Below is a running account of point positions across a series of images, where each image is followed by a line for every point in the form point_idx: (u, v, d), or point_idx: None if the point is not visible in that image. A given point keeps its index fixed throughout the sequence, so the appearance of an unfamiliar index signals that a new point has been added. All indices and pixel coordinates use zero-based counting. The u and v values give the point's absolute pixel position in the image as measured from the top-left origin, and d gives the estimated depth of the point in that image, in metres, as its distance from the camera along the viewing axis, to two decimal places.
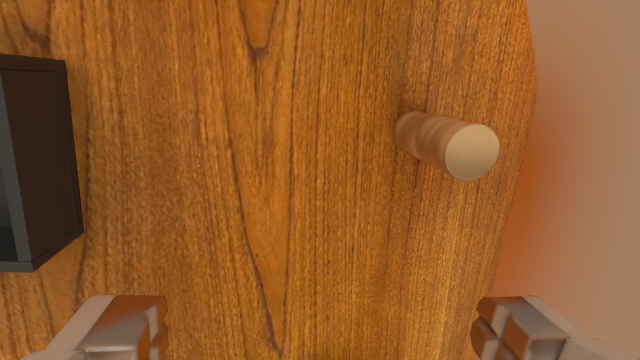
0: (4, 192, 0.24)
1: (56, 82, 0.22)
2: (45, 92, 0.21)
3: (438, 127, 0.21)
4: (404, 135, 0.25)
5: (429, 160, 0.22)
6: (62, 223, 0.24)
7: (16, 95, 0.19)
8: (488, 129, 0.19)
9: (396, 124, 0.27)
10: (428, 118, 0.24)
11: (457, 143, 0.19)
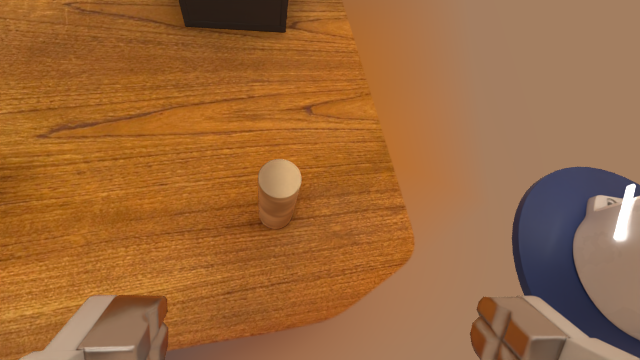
0: None
1: (275, 24, 0.45)
2: (270, 16, 0.43)
3: None
4: None
5: None
6: (197, 11, 0.41)
7: None
8: (299, 184, 0.27)
9: None
10: None
11: (285, 165, 0.27)
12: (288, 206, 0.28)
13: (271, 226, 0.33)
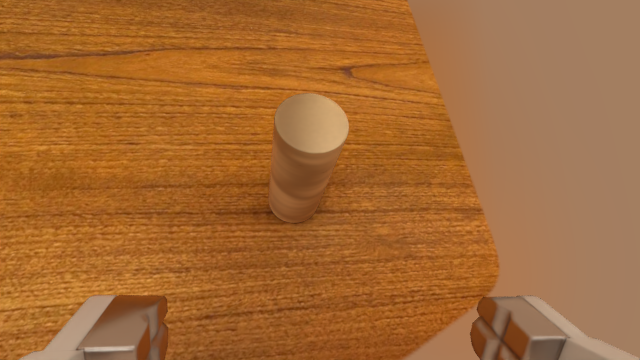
0: None
1: None
2: None
3: None
4: None
5: None
6: None
7: None
8: (344, 135, 0.15)
9: None
10: None
11: (322, 104, 0.16)
12: (320, 177, 0.17)
13: (286, 217, 0.21)
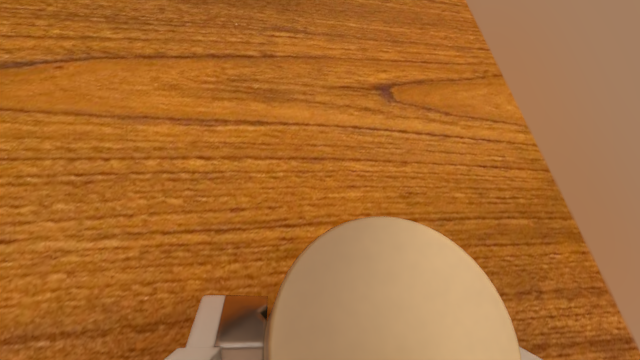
0: None
1: None
2: None
3: None
4: None
5: None
6: None
7: None
8: None
9: None
10: None
11: (423, 255, 0.05)
12: None
13: None
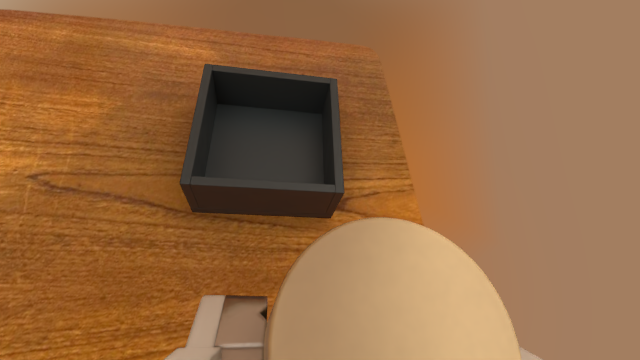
0: (235, 168, 0.33)
1: (318, 212, 0.32)
2: (313, 207, 0.30)
3: None
4: None
5: None
6: (210, 202, 0.29)
7: (317, 196, 0.28)
8: None
9: None
10: None
11: (423, 256, 0.05)
12: None
13: None
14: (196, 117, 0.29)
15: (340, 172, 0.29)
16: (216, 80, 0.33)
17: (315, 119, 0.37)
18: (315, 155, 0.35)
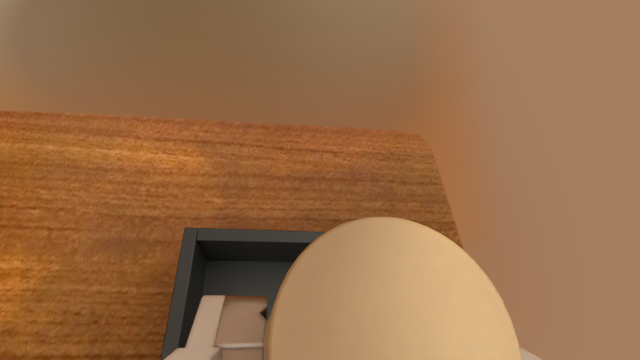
0: None
1: None
2: None
3: None
4: None
5: None
6: None
7: None
8: None
9: None
10: None
11: (423, 256, 0.05)
12: None
13: None
14: (166, 353, 0.16)
15: None
16: (204, 246, 0.21)
17: None
18: None
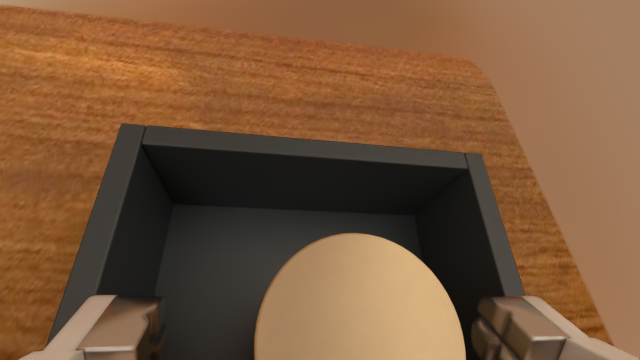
0: None
1: None
2: None
3: None
4: None
5: None
6: None
7: None
8: None
9: None
10: None
11: (387, 267, 0.06)
12: None
13: None
14: None
15: None
16: (160, 165, 0.12)
17: (402, 230, 0.16)
18: None
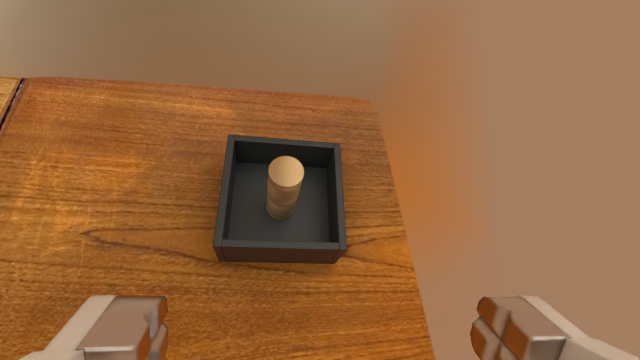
0: (254, 222, 0.38)
1: (324, 260, 0.37)
2: (321, 258, 0.36)
3: None
4: None
5: None
6: (235, 256, 0.35)
7: (324, 252, 0.34)
8: (301, 177, 0.32)
9: None
10: None
11: (291, 161, 0.33)
12: (291, 196, 0.34)
13: (275, 216, 0.38)
14: (223, 185, 0.35)
15: (343, 231, 0.35)
16: (237, 146, 0.39)
17: (320, 173, 0.43)
18: (321, 207, 0.41)
